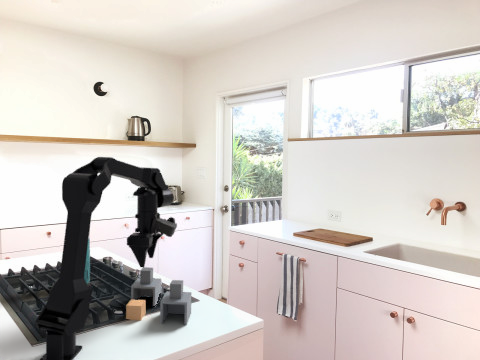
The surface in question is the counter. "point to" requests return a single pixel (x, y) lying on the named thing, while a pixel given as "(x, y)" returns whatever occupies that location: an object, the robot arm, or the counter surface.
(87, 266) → the beverage bottle
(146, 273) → the cover
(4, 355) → the counter surface
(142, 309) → the brown cube
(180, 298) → the cover
